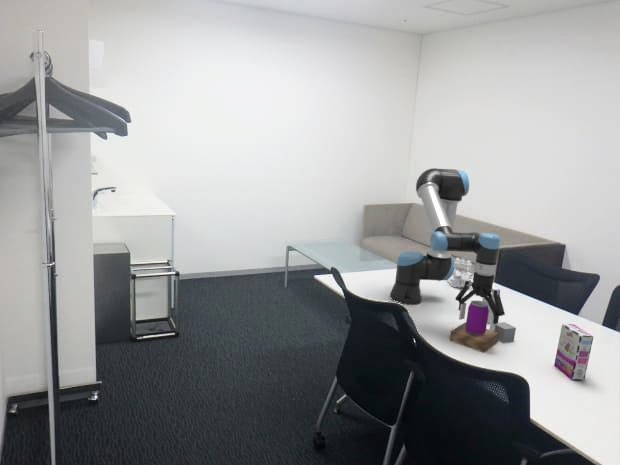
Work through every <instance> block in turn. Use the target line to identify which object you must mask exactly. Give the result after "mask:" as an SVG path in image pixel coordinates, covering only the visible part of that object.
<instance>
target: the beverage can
mask: <svg viewBox="0 0 620 465" xmlns="http://www.w3.org/2000/svg"><path fill="white" fill-rule="evenodd" d="M488 313H489V309H488V304H487V303H485V302H482V300H471V302H470V304H469V306H468V307H467V315H466V321H465V322H466V330H467V331H468V332H469V333H471V334H474V335H482V334H484V333H485V332H486V329H487V324H488V323H487V320H488Z"/></svg>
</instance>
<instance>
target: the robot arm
mask: <svg viewBox="0 0 620 465" xmlns="http://www.w3.org/2000/svg"><path fill="white" fill-rule="evenodd" d="M469 191H470V180H469V176H468V174H467V173H466V172H465V171H464V170H459V169H452V168H451V169H450V168H433V167H432V168H429V169H426V170H425V171H423V172H422V173H421V174H420V175H419V176H418V178H417V180H416V184H415V192H416V194H417V196H418V198H419V199H421V202H422V204H423V208H424V210H425V213H426V216H427V220H428V222H429V224H430V227H431V231H432V232H431V235H430V238H429V242H430V248H429V249H428V250H427V251H426V255H424V253H422V252H421V251H413V250H411V251H405V252H401V253H400V254H398V258H397V262H396V270H395V271H396V274H395V281H394V284H393V286H392V289H391V291H390V293H389V298H390V297H391V298H392V299H393V300H395V301H398V302H397V303H398V304H404V305H410V304H411V305H418V304H421V303H422V298H423V296H422V294H421V287H420V284H421V281H422V280H423V281H438V282H440V281H447V280H450V279H451V278H452V277H453V275H452V274H453V272H454V262H455V259H454V258H453V257H452V253H451V252H461V253H462V252H463V253H465V252H467V253H474V254H475V255H476V256H475V257H476V258H475V264H474V272H473V277H472V279H469V280H467V281H465V285H464V287H463V288H462V287H461V289H460V291H459V293H458V294H457V295H456V297H455V301H457V302H458V303H459V304H458V311H459V314H458V315H459V316H458V320H460V321H461V320H464V319H465V318H466V317H465V316H466V315H465V314H466V308H467V303H466V302H467V301H468V300H469V299H471V298H472V297H473V296H474V295H475V296H477V297H480V298H481V299H483V297H484V298H485V300H487V302H488V304H489V306H490V308H491V310H492V312H493V314H494V315H492V316H491V322H490V323H489V328H488V330H489V331H490V332H492V331H495V325H496V324H497V323H499V319H500V317H502V316H505V313H506V312H505V311H504V306H503V301H502V300H501V299H502V298H501V290H500V289H495V288H493V285H494V280H495V274H496V266H497V263H498V262H497V261H498V254H499V249H500V239H501V238H500V236H499V235H498V234H495V233H493V232H492V233H491V232H490V233H489V232H481V233H479V232H476V231H468V232H454V231H453V230H454V225H455V220H456V214H457V207H458V204H459V203H460V202H461V201H462V198H463V197H465V196H467V195H468V194H469ZM470 287H471V288H472V290H470V291H469V289H470ZM468 291H469V292H468ZM467 292H468V293H467ZM491 293H492V294H493V296H494V300H495V302H494V300H493V299H492V295H491ZM393 300H392V301H393ZM395 301H394V302H395ZM399 302H401V303H399Z"/></svg>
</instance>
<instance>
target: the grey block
mask: <svg viewBox="0 0 620 465" xmlns="http://www.w3.org/2000/svg"><path fill="white" fill-rule="evenodd" d="M516 330H517V328H516V326H513V325H511V324H509V323H507V322H505V321H504V322H498V323H497V324H496V325H495V332H498V333H499V337H498V342H500V343H502V344H505V343H512V342H514V341H515V335H516Z"/></svg>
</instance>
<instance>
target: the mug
mask: <svg viewBox="0 0 620 465" xmlns="http://www.w3.org/2000/svg"><path fill="white" fill-rule="evenodd" d="M491 295H492V299H493V300H494V296H493V294H492V292H491ZM481 301H482V302H485V303H487V304H488V302H487V300H485V298H484V297H483V298H482V299H481ZM494 302H495V300H494ZM488 309H489V313H488V320H487V324H490V322H491V316H492V315H494V314H493V312H492V310H491V308H490V306H489V304H488Z"/></svg>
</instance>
